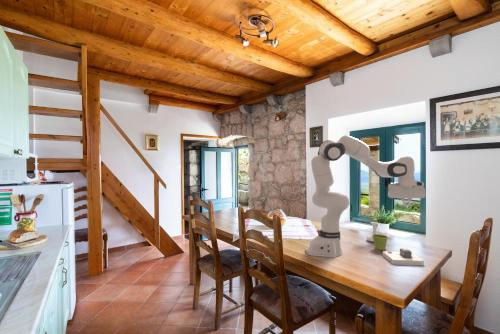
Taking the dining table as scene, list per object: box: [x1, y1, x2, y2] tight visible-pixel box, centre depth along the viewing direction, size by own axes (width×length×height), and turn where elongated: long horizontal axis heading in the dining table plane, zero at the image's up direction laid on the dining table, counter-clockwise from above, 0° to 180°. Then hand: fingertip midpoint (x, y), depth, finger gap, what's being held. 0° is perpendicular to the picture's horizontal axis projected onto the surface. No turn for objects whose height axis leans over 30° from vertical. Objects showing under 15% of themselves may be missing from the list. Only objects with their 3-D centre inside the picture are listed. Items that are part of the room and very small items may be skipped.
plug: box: [399, 248, 413, 258], centre depth 143 cm, size 4×5×6 cm
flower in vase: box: [363, 207, 379, 243], centre depth 179 cm, size 13×11×25 cm
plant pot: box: [372, 233, 389, 251], centre depth 163 cm, size 9×9×9 cm
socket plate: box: [382, 250, 425, 266], centre depth 143 cm, size 16×14×3 cm
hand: (406, 205), depth 150 cm, fingers closed
